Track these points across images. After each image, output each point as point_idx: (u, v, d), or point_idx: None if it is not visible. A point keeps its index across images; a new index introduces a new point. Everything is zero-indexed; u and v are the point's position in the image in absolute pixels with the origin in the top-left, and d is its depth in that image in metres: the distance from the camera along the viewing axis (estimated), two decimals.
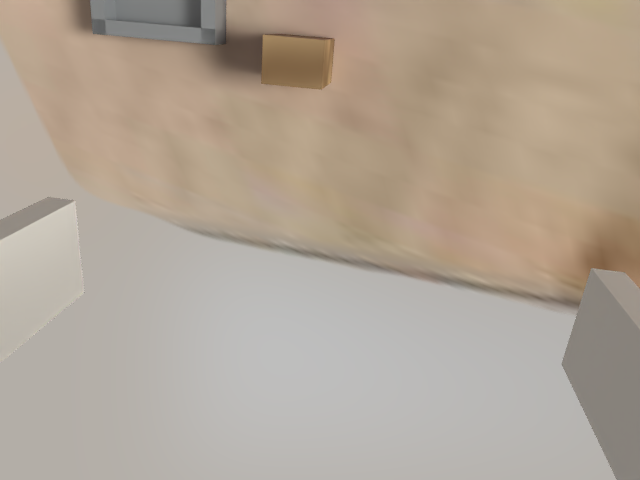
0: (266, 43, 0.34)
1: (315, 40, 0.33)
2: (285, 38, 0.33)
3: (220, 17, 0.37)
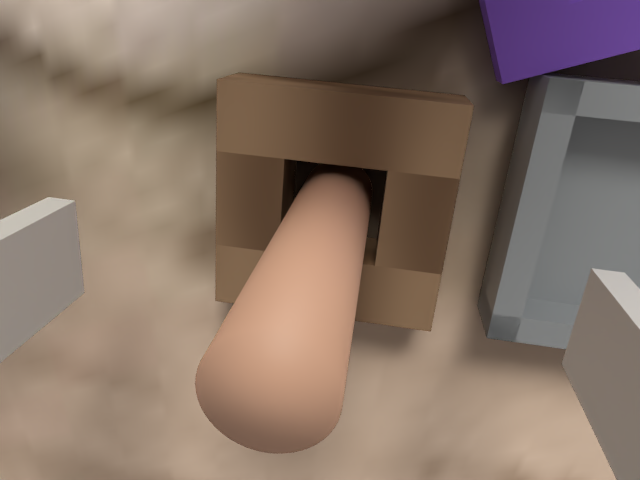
0: None
1: None
2: None
3: None
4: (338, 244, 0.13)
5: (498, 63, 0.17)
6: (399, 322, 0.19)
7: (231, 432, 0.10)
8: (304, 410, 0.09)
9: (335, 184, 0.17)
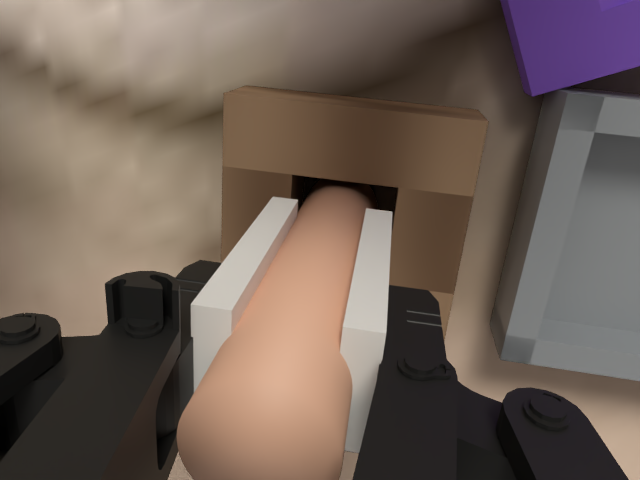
0: None
1: None
2: None
3: None
4: (339, 272, 0.12)
5: (527, 75, 0.16)
6: None
7: None
8: (299, 470, 0.08)
9: (338, 202, 0.16)
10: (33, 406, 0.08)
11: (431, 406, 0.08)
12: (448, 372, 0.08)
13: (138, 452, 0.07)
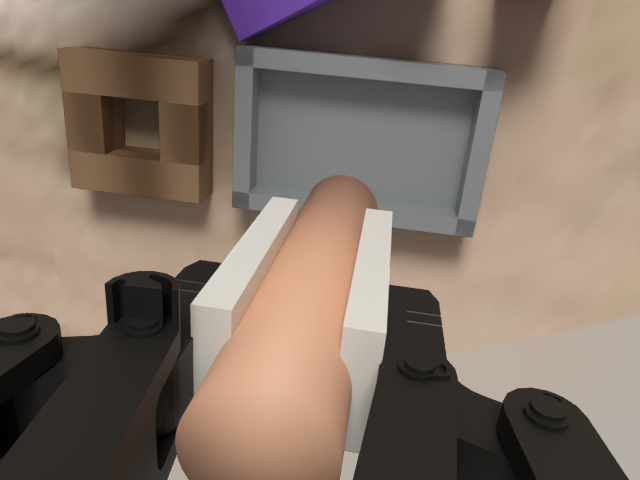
0: None
1: None
2: None
3: (469, 67, 0.28)
4: (338, 275, 0.12)
5: (234, 29, 0.29)
6: (180, 198, 0.31)
7: None
8: (298, 474, 0.08)
9: (337, 205, 0.15)
10: (33, 406, 0.08)
11: (431, 406, 0.08)
12: (448, 372, 0.08)
13: (138, 452, 0.07)
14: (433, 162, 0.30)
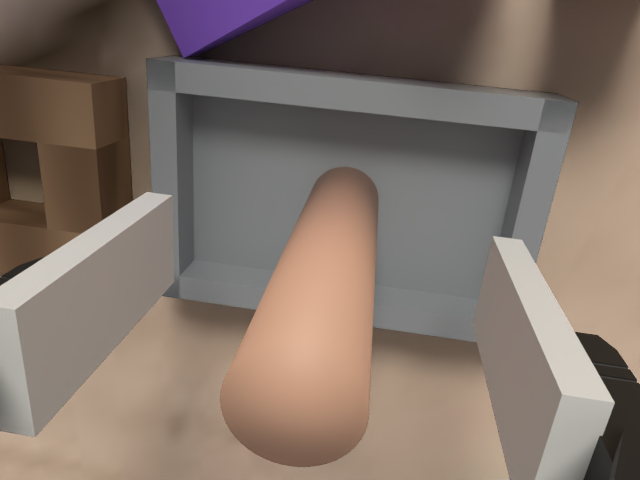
0: None
1: None
2: None
3: (513, 92, 0.17)
4: (352, 254, 0.13)
5: (175, 39, 0.19)
6: None
7: (257, 448, 0.10)
8: (330, 423, 0.09)
9: (343, 193, 0.17)
10: None
11: None
12: None
13: None
14: (455, 233, 0.20)
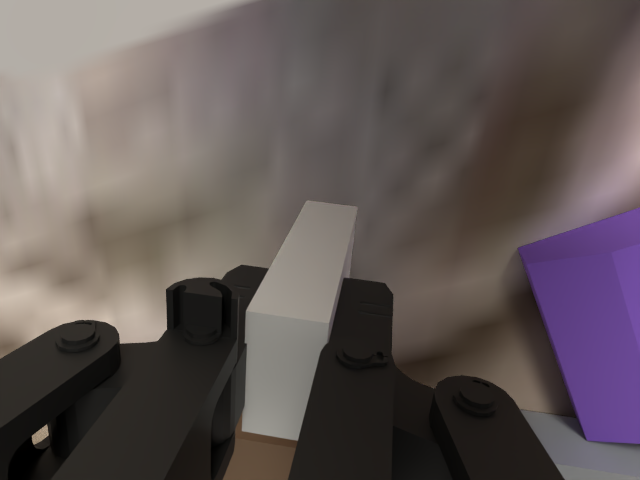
0: None
1: None
2: None
3: None
4: None
5: (581, 424, 0.17)
6: None
7: None
8: None
9: None
10: (94, 414, 0.08)
11: (368, 393, 0.08)
12: (385, 359, 0.08)
13: (193, 463, 0.07)
14: None
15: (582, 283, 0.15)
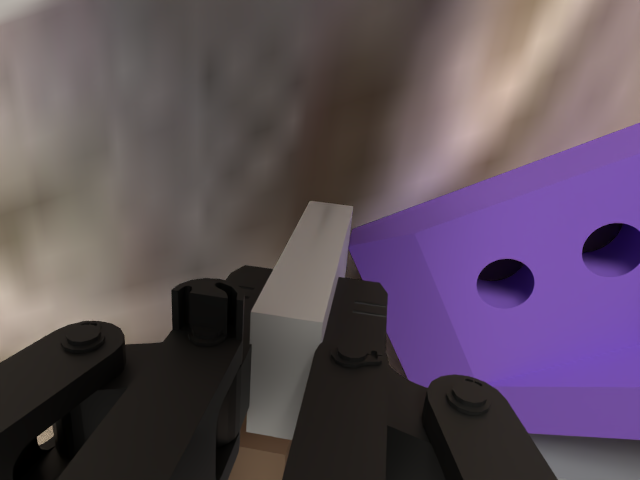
0: None
1: None
2: None
3: None
4: None
5: None
6: None
7: None
8: None
9: None
10: (100, 415, 0.08)
11: (363, 392, 0.08)
12: (379, 358, 0.08)
13: (198, 464, 0.07)
14: None
15: (397, 265, 0.15)
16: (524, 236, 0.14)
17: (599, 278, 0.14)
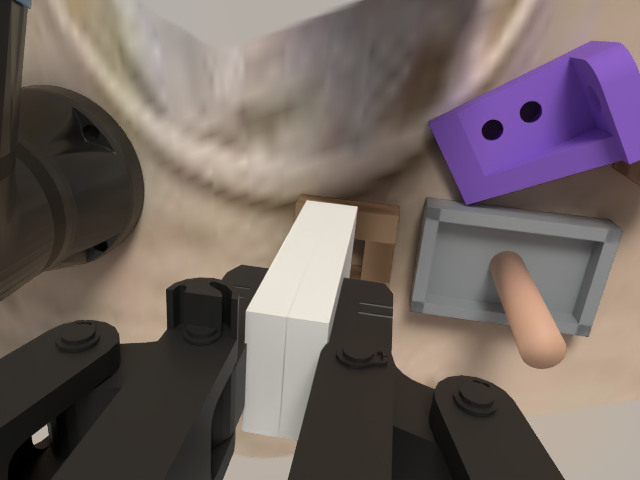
0: None
1: None
2: None
3: (592, 222, 0.39)
4: (541, 299, 0.35)
5: None
6: None
7: (528, 362, 0.31)
8: (553, 354, 0.31)
9: (519, 269, 0.38)
10: (94, 414, 0.08)
11: (368, 393, 0.08)
12: (385, 359, 0.08)
13: (193, 463, 0.07)
14: (559, 282, 0.42)
15: (449, 128, 0.38)
16: (498, 109, 0.37)
17: (527, 123, 0.37)
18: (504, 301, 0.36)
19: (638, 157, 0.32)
